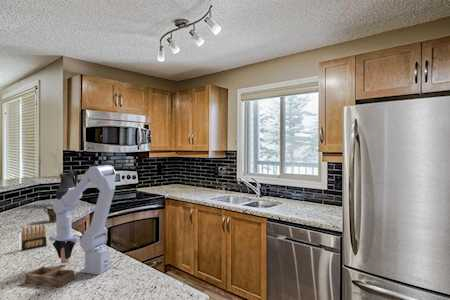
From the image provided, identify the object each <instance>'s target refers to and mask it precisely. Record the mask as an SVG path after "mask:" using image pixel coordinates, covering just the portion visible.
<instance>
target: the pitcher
mask: <svg viewBox="0 0 450 300" xmlns="http://www.w3.org/2000/svg"><path fill="white" fill-rule="evenodd" d="M58 176H59V178H60V181H59V183H60V184H59V186H58V189H57V190H56V191H55V196H56V200H60V199H61V198H62V196H64V195H65V194H66V193H67V192H68V189H69V188H73V187H76V186H77V184H78V178H79V177H78V172H77V171H76V170H70V171H68V172H60V173H58ZM73 177H74V179H73Z"/></svg>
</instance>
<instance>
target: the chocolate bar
mask: <svg viewBox="0 0 450 300" xmlns="http://www.w3.org/2000/svg"><path fill="white" fill-rule="evenodd" d="M72 234H73V236H76V237H80V239H81V238H82V237H83V235H84V231H83V230H82V231H76V232H72Z"/></svg>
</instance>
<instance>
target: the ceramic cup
mask: <svg viewBox="0 0 450 300" xmlns="http://www.w3.org/2000/svg"><path fill="white" fill-rule="evenodd" d="M43 210H44V212H45V213H46V214H47V215H48V219H49V222H50V223H51V224H52V223H55V224H56V213H55V212H54V210H53V205H50V206H48V207H45V208H44V209H43Z"/></svg>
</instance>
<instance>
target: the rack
mask: <svg viewBox="0 0 450 300" xmlns="http://www.w3.org/2000/svg"><path fill="white" fill-rule="evenodd" d="M75 279H76V275H75V270H72V269H64V268H54V267H48V266H41V267H39V268H37V269H35V270H32V271H30V272H28V273H26V274H25V279H24V283H26V284H32V285H33V284H34V285H40V286H47V287H52V288H61V287H63V286H64V285H66V284H68V283H70V282H71V281H73V280H75Z"/></svg>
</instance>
